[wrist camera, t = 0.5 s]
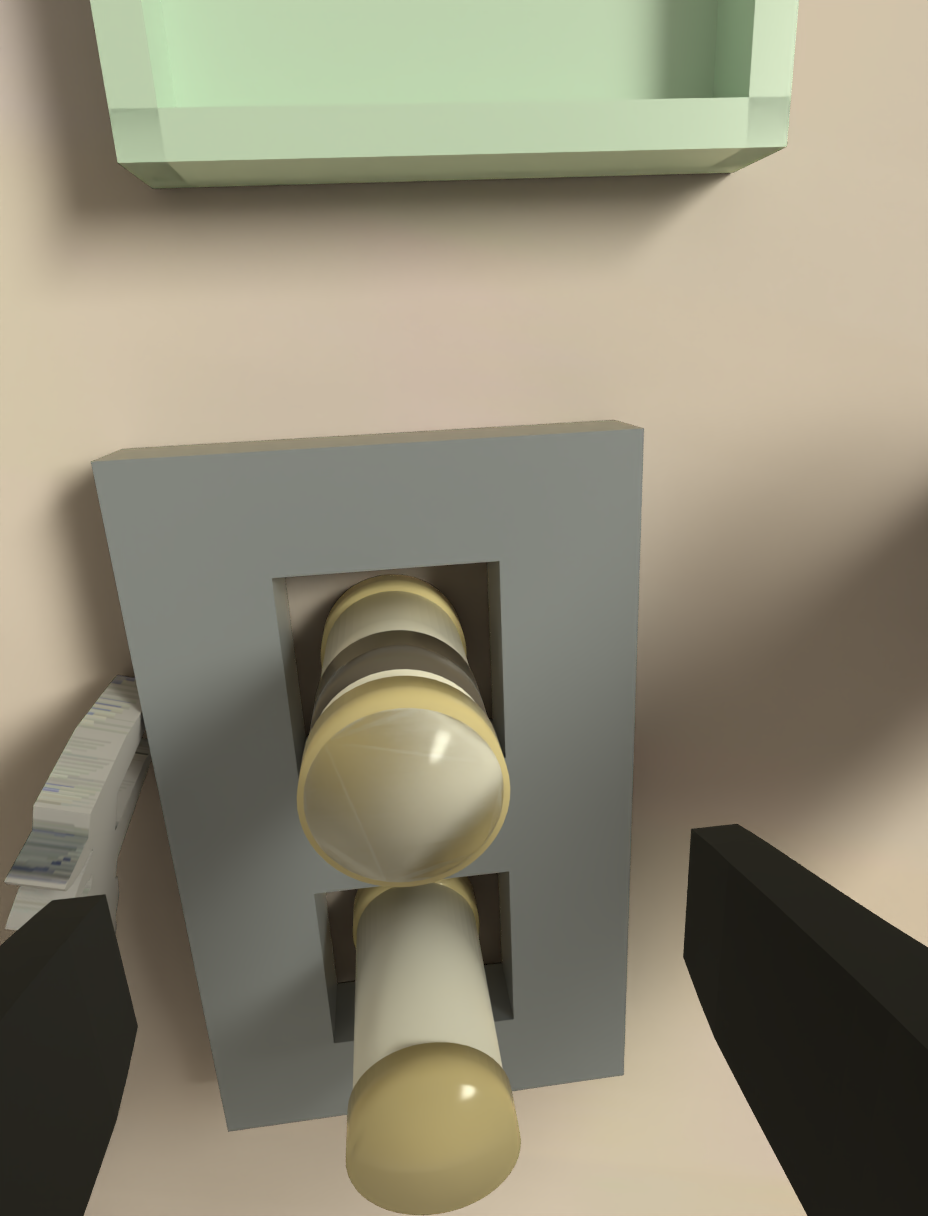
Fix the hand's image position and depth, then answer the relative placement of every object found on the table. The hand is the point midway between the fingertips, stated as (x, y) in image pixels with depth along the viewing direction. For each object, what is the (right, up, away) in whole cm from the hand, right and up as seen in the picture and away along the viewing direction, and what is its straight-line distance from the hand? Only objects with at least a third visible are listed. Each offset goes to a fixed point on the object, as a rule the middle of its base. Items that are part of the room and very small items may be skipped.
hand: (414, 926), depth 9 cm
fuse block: (-1, -1, +11) cm, 11 cm away
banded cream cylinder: (-1, +3, +9) cm, 10 cm away
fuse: (-1, -4, +12) cm, 13 cm away
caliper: (-10, -7, +12) cm, 17 cm away
